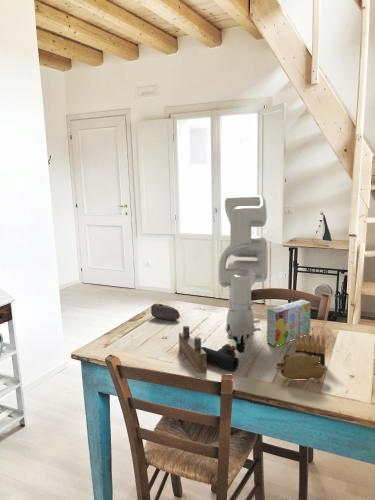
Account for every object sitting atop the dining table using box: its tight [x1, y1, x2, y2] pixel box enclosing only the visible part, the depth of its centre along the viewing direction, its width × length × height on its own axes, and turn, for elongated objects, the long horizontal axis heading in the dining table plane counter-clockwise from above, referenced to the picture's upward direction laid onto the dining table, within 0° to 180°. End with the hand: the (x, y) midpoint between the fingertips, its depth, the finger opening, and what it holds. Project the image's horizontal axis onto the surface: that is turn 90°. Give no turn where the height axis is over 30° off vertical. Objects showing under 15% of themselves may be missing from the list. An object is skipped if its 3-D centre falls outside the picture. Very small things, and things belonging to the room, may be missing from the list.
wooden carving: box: [275, 352, 327, 380], centre depth 138 cm, size 16×5×10 cm, turn 91°
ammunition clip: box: [294, 332, 326, 366], centre depth 148 cm, size 11×2×12 cm, turn 69°
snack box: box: [266, 299, 312, 347], centre depth 170 cm, size 21×6×15 cm, turn 124°
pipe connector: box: [201, 343, 240, 372], centre depth 152 cm, size 12×5×15 cm
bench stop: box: [178, 325, 207, 374], centre depth 153 cm, size 3×21×11 cm, turn 20°
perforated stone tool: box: [150, 303, 181, 321], centre depth 197 cm, size 15×5×7 cm, turn 63°
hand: (240, 351), depth 156 cm, fingers closed
